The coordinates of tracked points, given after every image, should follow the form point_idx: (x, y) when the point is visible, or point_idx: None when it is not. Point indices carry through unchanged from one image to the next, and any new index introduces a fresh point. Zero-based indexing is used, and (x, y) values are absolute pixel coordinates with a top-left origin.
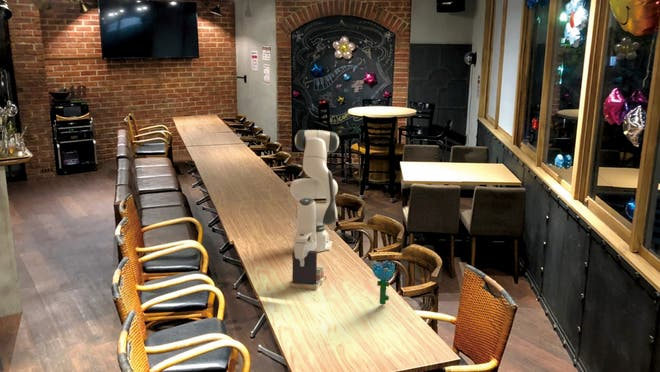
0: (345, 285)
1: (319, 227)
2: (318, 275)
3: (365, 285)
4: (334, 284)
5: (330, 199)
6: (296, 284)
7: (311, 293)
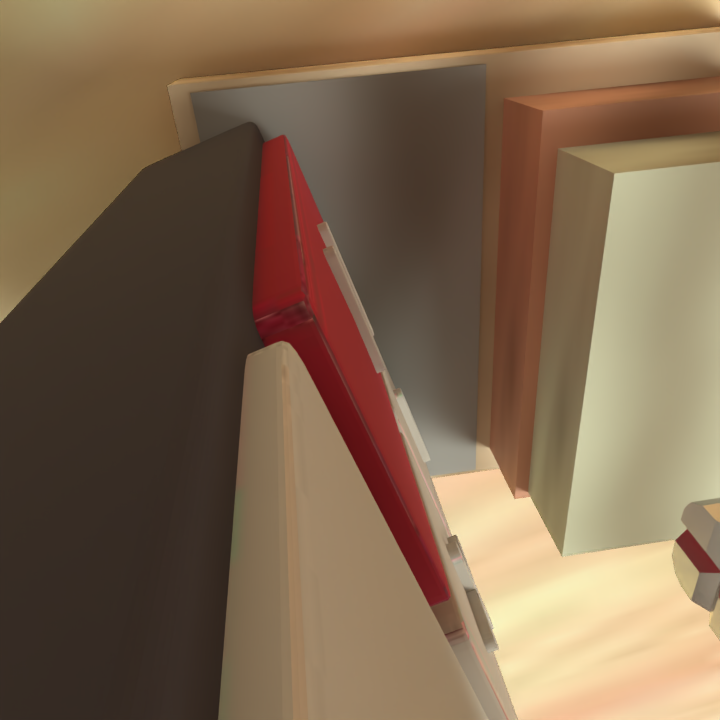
0: (527, 606)
1: None
2: (513, 475)
3: (574, 700)
4: (523, 528)
5: None
6: None
7: None
